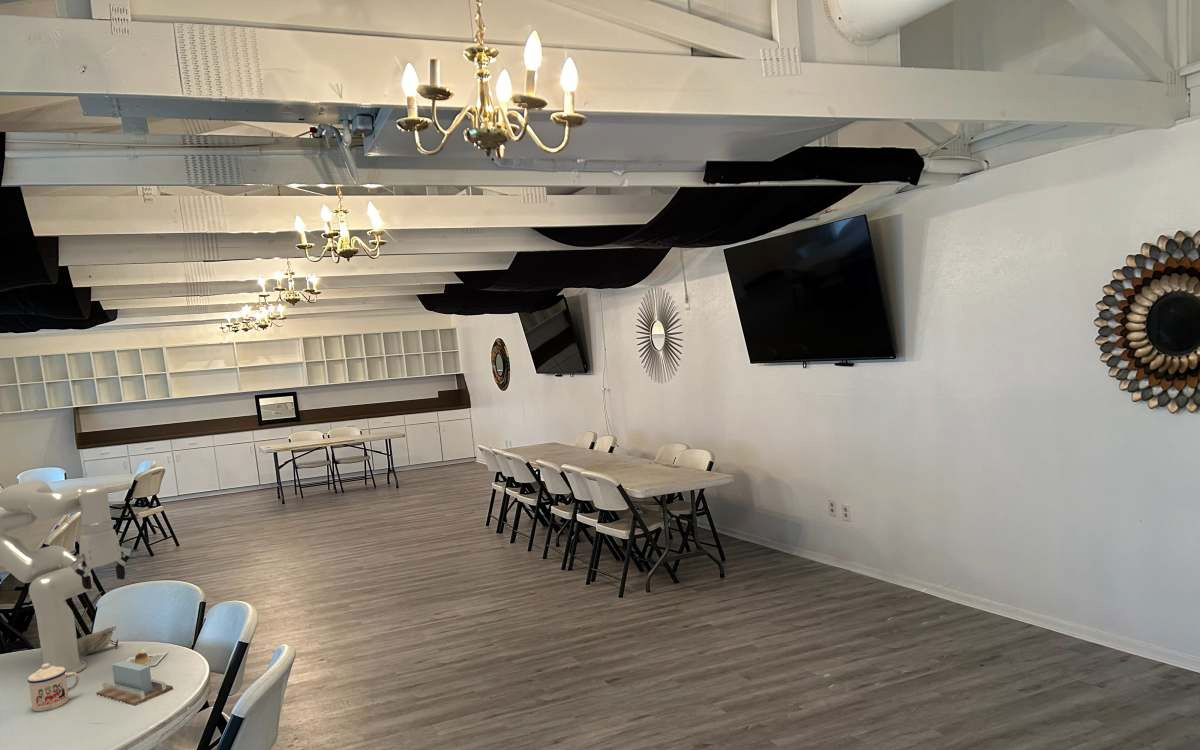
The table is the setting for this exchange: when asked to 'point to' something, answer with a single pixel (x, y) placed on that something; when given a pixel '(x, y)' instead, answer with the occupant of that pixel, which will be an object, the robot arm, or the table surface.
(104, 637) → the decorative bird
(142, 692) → the bottom track
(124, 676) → the door panel
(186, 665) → the table surface
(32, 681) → the teacup with lid
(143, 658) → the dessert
